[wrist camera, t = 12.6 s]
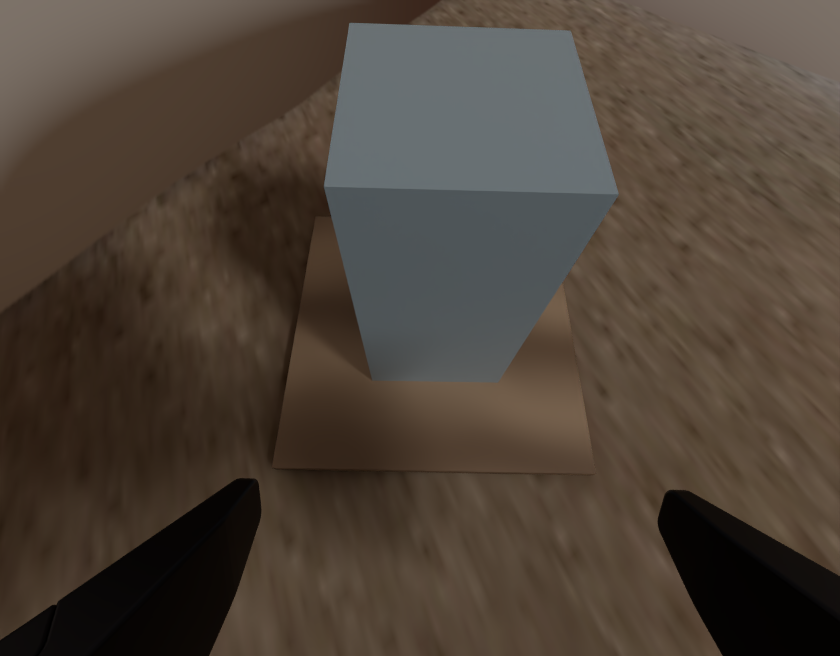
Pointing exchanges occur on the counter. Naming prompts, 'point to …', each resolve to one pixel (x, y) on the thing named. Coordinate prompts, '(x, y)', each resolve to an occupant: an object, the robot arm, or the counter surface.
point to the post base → (424, 397)
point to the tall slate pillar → (460, 191)
